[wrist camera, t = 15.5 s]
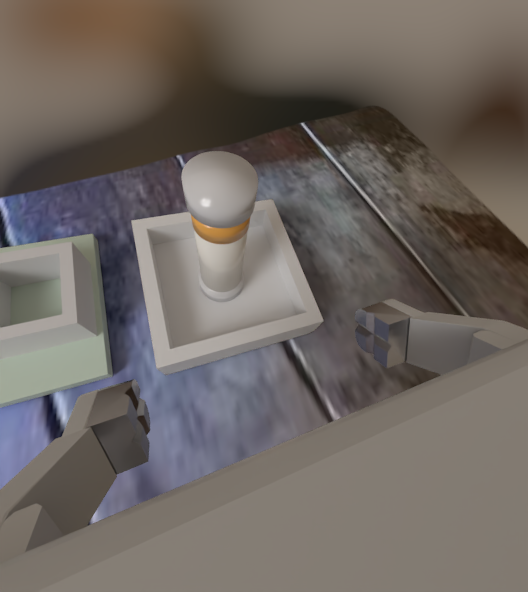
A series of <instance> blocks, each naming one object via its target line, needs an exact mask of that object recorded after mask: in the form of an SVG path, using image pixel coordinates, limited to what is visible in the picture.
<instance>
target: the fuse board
mask: <svg viewBox="0 0 528 592" xmlns="http://www.w3.org/2000/svg"><path fill="white" fill-rule="evenodd" d="M112 376H113V371H112V363H111V354H110V345H109V336H108V327H107V318H106V309H105V301H104V292H103V283H102V274H101V265H100V256H99V247H98V240H97V239H96V238H95V236H94V235H93V234H88V235H81V236H75V237H69V238H62V239H56V240H50V241H44V242H37V243H31V244H25V245H18V246H12V247H6V248H0V408H1V407H5V406H9V405H12V404H16V403H19V402H23V401H26V400H30V399H34V398H37V397H41V396H44V395H48V394H51V393H55V392H59V391H62V390H66V389H69V388H73V387H76V386H80V385H84V384H87V383H91V382H94V381H98V380H101V379H105V378H109V377H112Z"/></svg>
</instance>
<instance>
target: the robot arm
mask: <svg viewBox="0 0 528 592" xmlns="http://www.w3.org/2000/svg"><path fill="white" fill-rule="evenodd" d="M355 321H356V322H357V323H358V326H357V328H356V330H355V334H356V340H357V342H358V345H359V346H360V347H361V349H363V350H364V351H365V352H367V353H371V354H373V355H374V359H375V360H377V361H378V362H379V363H381V364H382V365H383V366H385V367H386V368H389V367H392V366H395V365H398V364H400V363H403V362H406V363H409V364H412V365H415V366H418V367H421V368H424V369H427V370H430V371H432V372H435V373H438V374H441V376H439V377H437V378H434V379H432V380H429V381H427V382H425V383H422V384H420V385H418V386H415V387H413V388H411V389H408V390H406V391H403V392H401V393H399V394H396V395H394V396H392V397H389V398H387V399H385V400H382V401H380V402H377V403H375V404H373V405H370V406H368V407H366V408H363V409H361V410H359V411H356V412H354V413H352V414H349V415H347V416H345V417H342V418H340V419H338V420H335V421H333V422H330V423H328V424H326V425H323V426H321V427H319V428H316V429H314V430H312V431H309V432H307V433H305V434H302V435H300V436H298V437H295V438H293V439H291V440H288V441H286V442H284V443H281V444H279V445H277V446H274V447H272V448H270V449H267V450H265V451H263V452H260V453H258V454H255V455H253V456H251V457H248V458H246V459H244V460H241V461H239V462H237V463H234V464H232V465H230V466H227V467H225V468H222V469H220V470H218V471H215V472H213V473H211V474H208V475H206V476H204V477H201V478H199V479H197V480H194V481H192V482H190V483H187V484H185V485H182V486H180V487H178V488H175V489H173V490H171V491H168V492H166V493H164V494H161V495H159V496H157V497H154V498H152V499H150V500H147V501H145V502H142V503H140V504H138V505H135V506H133V507H131V508H128V509H126V510H124V511H121V512H119V513H117V514H114V515H112V516H110V517H107V518H105V519H102V520H100V521H98V522H95V523H93V524H91V525H88V523H89V521H90V520H91V518H92V516H93V515H94V513H95V512H96V510H97V508H98V507H99V505H100V503H101V502H102V500H103V498H104V497H105V495H106V493H107V492H108V490H109V489H110V487H111V485H112V484H113V482H114V480H115V479H116V477H117V474H119V473H122V472H124V471H127V470H129V469H131V468H134V467H136V466H138V465H141V464H143V463H146V462H148V458H149V440H148V438H147V434H148V433H149V431H150V417H149V412H148V408H147V405H146V403H145V400H143V399H141V398H140V388H139V386H138V383H137V381H136V380H134V379H133V380H130V381H126V382H123V383H119V384H116V385H113V386H109V387H106V388H102V389H100V390H95V391H92V392H89V393H86V394H83V395H81V396H79V397H78V399H77V402H76V404H75V406H74V409H73V411H72V414H71V416H70V418H69V421H68V423H67V426H66V428H65V430H64V433H63V435H62V437H60V438H57V439H55V440H54V441H53V442H52V443H51V444H50V445H48V446H47V447H46V448H45V449H44V450H43V451H42V452H41V453H40V454H39V455H38V456H37V457H35V458H34V459H33V460H32V461H31V462H30V463H29V464H28V465H27V466H26V467H25V468H24V469H22V470H21V471H20V472H19V473H18V474H17V475H16V476H15V477H14V478H13V479H12V480H10V481H9V482H8V483H7V484H6V485H5V486H4V487H3V488H2V489H1V490H0V592H528V330H527V329H525V328H522V327H519V326H517V325H514V324H511V323H509V322H506V321H501V320H493V319H484V318H475V317H467V316H458V315H450V314H441V313H433V312H426V313H423V312H421V311H419V310H417V309H414V308H412V307H410V306H408V305H406V304H403V303H401V302H399V301H397V300H394V299H387V300H385V301H382V302H379V303H377V304H374V305H371V306H368V307H365V308H362V309H359V310H357V311H356V314H355ZM87 525H88V526H87Z"/></svg>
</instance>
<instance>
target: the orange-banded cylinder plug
mask: <svg viewBox="0 0 528 592" xmlns="http://www.w3.org/2000/svg"><path fill="white" fill-rule="evenodd" d="M182 184H183V190H184V195H185V201H186V206H187V209H188V211H189V213H190V214H191V220H192V226H193V228H194V234H195V240H196V247H197V253H198V260H199V266H200V268H199V272H198V277H199V283H200V288H201V290H202V292H203V294H204V295H205V296H206V297H207V298H209V299H210V300H213V301H216V302H227V301H230V300H233V299H234V298H236V297H237V296H238V295H239V294H240V292H241V290H242V288H243V282H244V269H243V263H244V255H245V248H246V240H247V232H248V228H249V224H250V216H251V215H252V213H253V211H254V207H255V201H256V194H257V188H258V176H257V173H256V171H255V169H254V168H253V167H252V165H251V164H250V163H249V162H247V161H246V160H245V159H243V158H241V157H240V156H237V155H235V154H232V153H228V152H222V151H211V152H206V153H202V154H199V155H197V156H195V157H193V158H192V159H191V160H189V161H188V162H187V164H186V165H185V166H184V168H183V171H182Z"/></svg>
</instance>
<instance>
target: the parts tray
mask: <svg viewBox="0 0 528 592" xmlns="http://www.w3.org/2000/svg"><path fill="white" fill-rule="evenodd" d="M131 222H132V227H133V233H134V239H135V245H136V251H137V257H138V262H139V268H140V274H141V280H142V286H143V291H144V297H145V303H146V309H147V315H148V320H149V326H150V332H151V338H152V344H153V349H154V355H155V361H156V367H157V369H158V370H159V371H161V372H162V373H163V374H165V375H168V374H172V373H175V372H179V371H182V370H186V369H189V368H192V367H196V366H199V365H203V364H206V363H210V362H213V361H216V360H220V359H223V358H227V357H230V356H233V355H237V354H240V353H244V352H247V351H251V350H254V349H257V348H261V347H264V346H268V345H271V344H275V343H278V342H281V341H285V340H288V339H292V338H295V337H298V336H302V335H305V334H309V333H312V332H313V331H314V330H315V329H316V328H317V327H318V326H319V325H320V324H321V323H322V322H323V321H324V320H323V318H322V316H321V313H320V311H319V308H318V306H317V304H316V301H315V299H314V297H313V294H312V292H311V289H310V287H309V285H308V282H307V280H306V277H305V275H304V273H303V270H302V268H301V266H300V263H299V261H298V258H297V256H296V254H295V251H294V249H293V247H292V244H291V242H290V239H289V237H288V235H287V232H286V230H285V228H284V225H283V223H282V220H281V218H280V216H279V213H278V211H277V209H276V206H275V204H274V201H273V199H270V200H264V201H257V202H255V207H254V211H253V213H252V215H251V216H250V224H249V228H248V232H247V240H246V248H245V255H244V263H243V269H244V282H243V288H242V290H241V292H240V294H239V295H238V296H237V297H236V298H234V299H233V300H230V301H227V302H216V301H213V300H210V299H209V298H207V297H206V296H205V295H204V294H203V292H202V290H201V288H200V283H199V277H198V272H199V268H200V266H199V260H198V253H197V247H196V240H195V234H194V228H193V226H192V220H191V214H190V213H189V212H185V213H178V214H172V215H165V216H159V217H152V218H146V219H139V220H132V221H131Z"/></svg>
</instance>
